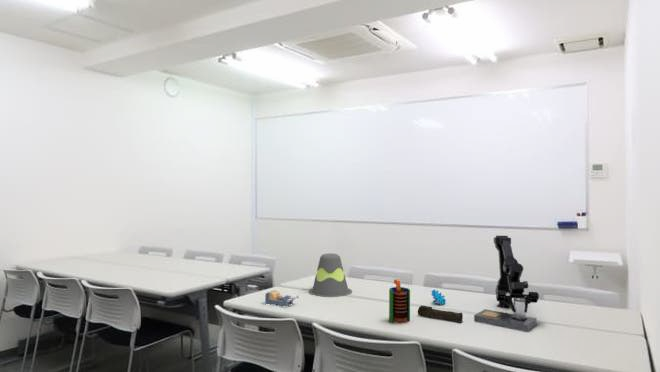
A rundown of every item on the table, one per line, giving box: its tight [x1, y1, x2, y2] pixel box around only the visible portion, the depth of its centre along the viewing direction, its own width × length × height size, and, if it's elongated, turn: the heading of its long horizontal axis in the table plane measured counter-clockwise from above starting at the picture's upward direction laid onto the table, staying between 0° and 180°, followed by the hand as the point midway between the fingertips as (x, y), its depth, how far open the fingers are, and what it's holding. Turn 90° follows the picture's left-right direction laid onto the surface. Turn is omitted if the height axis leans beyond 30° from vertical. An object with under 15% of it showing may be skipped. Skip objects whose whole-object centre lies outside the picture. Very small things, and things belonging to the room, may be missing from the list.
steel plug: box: [513, 297, 526, 321], centre depth 205 cm, size 5×5×13 cm
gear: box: [431, 289, 447, 306], centre depth 245 cm, size 11×6×10 cm
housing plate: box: [473, 308, 538, 333], centre depth 208 cm, size 14×25×3 cm, turn 49°
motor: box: [388, 278, 411, 324], centre depth 213 cm, size 10×9×20 cm
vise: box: [264, 289, 300, 307], centre depth 245 cm, size 18×10×7 cm, turn 60°
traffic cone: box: [308, 253, 353, 298], centre depth 275 cm, size 28×28×24 cm
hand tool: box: [417, 304, 464, 324], centre depth 216 cm, size 23×5×6 cm, turn 55°
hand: (520, 312), depth 204 cm, fingers closed on steel plug, 5 cm apart
